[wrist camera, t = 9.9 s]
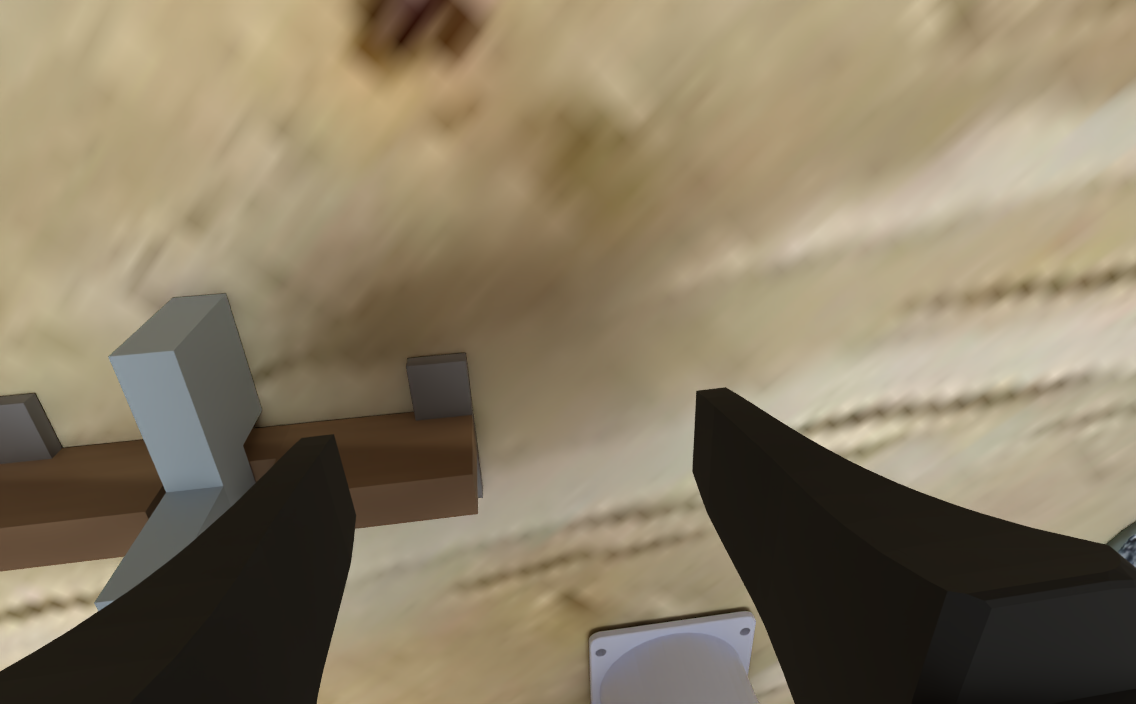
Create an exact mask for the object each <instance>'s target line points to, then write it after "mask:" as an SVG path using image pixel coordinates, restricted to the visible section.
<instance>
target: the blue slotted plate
mask: <svg viewBox="0 0 1136 704" xmlns="http://www.w3.org/2000/svg"><path fill="white" fill-rule="evenodd" d="M108 357H109V359H110V362H111V364H112V366H113V369H114V371H115V373H116V376H117V378H118V380H119V383H120V385H121V388H122V390H123V392H124V395H125V397H126V399H127V402H128V404H129V406H130V409H131V411H132V413H133V416H134V418H135V420H136V423H137V425H138V428H139V430H140V432H141V435H142V437H143V439H144V442H145V444H146V446H147V449H148V451H149V453H150V456H151V458H152V460H153V463H154V465H155V468H156V470H157V472H158V475H159V477H160V479H161V482H162V484H163V486H164V489H165V491H166V494H165V495H164V497H163V498H162V500H161V501H160V503H159V504H158V506H157V507H156V509H155V510H154V512H153V513H152V515H151V517H150V518H149V520H148V521H147V523H146V524H145V526H144V527H143V529H142V530H141V532H140V533H139V535H138V536H137V538H136V540H135V541H134V543H133V544H132V546H131V547H130V549H129V550H128V552H127V553H126V555H125V556H124V558H123V560H122V561H121V563H120V564H119V566H118V567H117V569H116V570H115V572H114V573H113V575H112V576H111V578H110V579H109V581H108V583H107V584H106V586H105V587H104V589H103V590H102V592H101V593H100V595H99V596H98V598H97V599H96V601H95V602H94V603H95V605H96V607H97V609H98V611H100V610H101V609H103V608H104V607H106V606H107V605H109V604H110V603H112V602H113V601H115V600H116V599H118V598H119V597H121V596H122V595H124V594H125V593H127V592H128V591H129V590H131V589H132V588H134V587H135V586H136V585H138V584H139V583H140V582H142V581H143V580H144V579H146V578H147V577H148V576H150V575H151V574H152V573H154V572H155V571H156V570H158V569H159V568H160V567H162V566H163V565H164V564H165V563H167V562H168V561H169V560H171V559H172V558H173V557H174V556H176V555H177V554H178V553H179V552H180V551H182V550H183V549H184V548H185V547H186V546H188V545H189V544H190V543H191V542H192V541H194V540H195V539H196V538H197V537H198V536H199V535H200V534H201V533H202V532H204V531H205V530H206V529H207V528H208V527H209V526H210V525H211V524H213V523H214V522H215V521H216V520H217V519H218V518H219V517H220V516H221V515H223V514H224V513H225V512H226V511H227V510H228V509H229V508H230V507H231V506H233V505H234V504H235V503H236V502H237V501H238V500H239V499H240V498H241V497H242V496H243V495H244V494H245V493H246V492H247V491H248V490H249V489H250V488H251V487H252V486H253V485H254V484H255V483H256V482H255V479H254V476H253V473H252V471H251V468H250V465H249V462H248V459H247V456H246V453H245V450H244V447H243V445H244V443H245V441H246V439H247V437H248V435H249V434H250V432H251V430H252V428H253V426H254V424H255V423H256V421H257V419H258V417H259V415H260V413H261V411H262V408H261V405H260V402H259V399H258V395H257V392H256V389H255V386H254V382H253V379H252V376H251V373H250V370H249V366H248V363H247V360H246V357H245V354H244V350H243V347H242V344H241V341H240V337H239V334H238V331H237V328H236V325H235V321H234V318H233V315H232V312H231V308H230V305H229V302H228V299H227V296H226V293H225V294H213V295H200V296H188V297H176V298H172V299H171V300H170V301H169V302H167V303H166V304H165V305H164V306H163V307H162V308H161V309H160V310H159V311H158V312H157V313H155V314H154V315H153V316H152V317H151V318H150V319H149V320H148V321H147V322H146V323H145V324H143V325H142V326H141V327H140V328H139V329H138V330H137V331H136V332H135V333H134V334H132V335H131V336H130V337H129V338H128V339H127V340H126V341H125V342H124V343H123V344H122V345H120V346H119V347H118V348H117V349H116V350H115V351H114V352H113V353H112V354H111V355H110V356H108Z"/></svg>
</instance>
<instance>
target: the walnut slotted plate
mask: <svg viewBox="0 0 1136 704" xmlns="http://www.w3.org/2000/svg"><path fill="white" fill-rule="evenodd" d="M406 369H407V375H408V381H409V386H410V392H411V397H412V403H413V409H414V412H409V413H399V414H389V415H380V416H370V417H360V418H350V419H341V420H331V421H321V422H312V423H302V424H292V425H282V426H273V427H263V428H253V429H252V430H251V432H250V434H249V435H248V437H247V439H246V441H245V443H244V445H243V447H244V450H245V453H246V456H247V459H248V462H249V465H250V468H251V471H252V473H253V476H254V479H255V482H257V481H258V480H259V479H260V478H261V477H262V476H263V475H264V474H265V473H266V472H267V471H268V470H269V469H270V468H271V467H272V466H273V465H274V464H275V463H276V462H277V461H278V460H279V459H280V458H281V457H282V456H283V455H284V454H285V453H286V452H287V451H288V450H289V449H290V448H291V447H292V446H293V445H294V444H295V443H296V442H298V441H299V440H300V439H301V438H305V437H313V436H321V435H330V434H334V436H335V440H336V443H337V447H338V450H339V454H340V458H341V461H342V465H343V469H344V472H345V476H346V480H347V483H348V487H349V491H350V494H351V498H352V501H353V505H354V509H355V512H356V523H355V529H356V528H365V527H373V526H381V525H390V524H398V523H406V522H415V521H423V520H431V519H439V518H448V517H456V516H464V515H473V514H478V498H483V486H482V479H481V471H480V463H479V455H478V447H477V439H476V431H475V423H474V415H473V407H472V399H471V391H470V383H469V375H468V367H467V360H466V353H459V354H448V355H437V356H427V357H416V358H408V359H407V364H406ZM165 494H166V491H165V489H164V486H163V484H162V482H161V479H160V477H159V475H158V472H157V470H156V468H155V465H154V463H153V460H152V458H151V456H150V453H149V451H148V449H147V446H146V444H145V442H144V440H136V441H127V442H117V443H107V444H98V445H88V446H78V447H68V448H62V447H61V445H60V443H59V441H58V439H57V437H56V435H55V433H54V431H53V429H52V427H51V425H50V423H49V421H48V419H47V417H46V415H45V413H44V411H43V409H42V407H41V405H40V403H39V401H38V399H37V397H36V395H35V393H34V394H23V395H12V396H2V397H0V571H8V570H16V569H24V568H33V567H41V566H49V565H58V564H66V563H74V562H82V561H91V560H99V559H107V558H116V557H124V556H125V555H126V553H127V552H128V550H129V549H130V547H131V546H132V544H133V543H134V541H135V540H136V538H137V536H138V535H139V533H140V532H141V530H142V529H143V527H144V526H145V524H146V523H147V521H148V520H149V518H150V517H151V515H152V513H153V512H154V510H155V509H156V507H157V506H158V504H159V503H160V501H161V500H162V498H163V497H164V495H165Z"/></svg>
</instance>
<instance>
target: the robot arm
mask: <svg viewBox="0 0 1136 704" xmlns="http://www.w3.org/2000/svg"><path fill="white" fill-rule="evenodd" d="M693 474H694V477H695V480H696V483H697V486H698V489H699V492H700V495H701V497H702V500H703V503H704V505H705V508H706V511H707V513H708V515H709V517H710V519H711V521H712V523H713V525H714V527H715V529H716V531H717V533H718V535H719V537H720V539H721V541H722V543H723V545H724V547H725V549H726V551H727V552H728V554H729V556H730V558H731V560H732V562H733V564H734V566H735V568H736V570H737V572H738V574H739V575H740V577H741V579H742V581H743V583H744V585H745V587H746V589H747V591H748V593H749V595H750V596H751V598H752V600H753V602H754V604H755V606H756V608H757V610H758V613H759V615H760V617H761V619H762V621H763V623H764V625H765V628H766V630H767V633H768V635H769V638H770V640H771V643H772V645H773V648H774V651H775V653H776V656H777V658H778V661H779V663H780V666H781V668H782V671H783V673H784V676H785V679H786V681H787V684H788V687H789V689H790V692H791V695H792V697H793V700H794V703H795V704H1136V567H1135V566H1134V565H1132V564H1131V563H1130V562H1129V561H1127V560H1126V559H1125V558H1124V557H1123V556H1121V555H1120V554H1119V553H1118V552H1117V551H1115V550H1114V549H1113V548H1112V547H1110V546H1109V545H1105V544H1100V543H1096V542H1092V541H1087V540H1083V539H1078V538H1074V537H1070V536H1065V535H1061V534H1057V533H1052V532H1048V531H1043V530H1039V529H1035V528H1031V527H1027V526H1023V525H1020V524H1016V523H1013V522H1009V521H1006V520H1002V519H999V518H995V517H992V516H988V515H985V514H982V513H979V512H975V511H972V510H969V509H966V508H963V507H960V506H957V505H954V504H951V503H948V502H946V501H943V500H940V499H937V498H935V497H932V496H929V495H926V494H924V493H921V492H918V491H916V490H913V489H911V488H908V487H906V486H903V485H901V484H898V483H896V482H894V481H892V480H889V479H887V478H885V477H883V476H880V475H878V474H876V473H874V472H871V471H869V470H867V469H865V468H863V467H861V466H859V465H857V464H855V463H853V462H851V461H849V460H847V459H845V458H843V457H841V456H839V455H837V454H835V453H834V452H832V451H830V450H828V449H826V448H824V447H822V446H821V445H819V444H817V443H815V442H814V441H812V440H810V439H808V438H807V437H805V436H803V435H802V434H800V433H798V432H797V431H795V430H793V429H792V428H790V427H788V426H787V425H785V424H784V423H782V422H780V421H779V420H777V419H776V418H774V417H772V416H771V415H769V414H768V413H766V412H765V411H763V410H761V409H760V408H758V407H757V406H755V405H754V404H752V403H751V402H749V401H747V400H746V399H744V398H743V397H741V396H739V395H738V394H736V393H734V392H733V391H731V390H729V389H727V388H726V387H725V388H717V389H709V390H700V391H696V411H695V431H694V451H693ZM355 523H356V512H355V509H354V505H353V501H352V498H351V494H350V491H349V487H348V483H347V480H346V476H345V472H344V469H343V465H342V461H341V458H340V454H339V450H338V447H337V443H336V440H335V436H334V434H330V435H321V436H313V437H305V438H301V439H300V440H299V441H298V442H296V443H295V444H294V445H293V446H292V447H291V448H290V449H289V450H288V451H287V452H286V453H285V454H284V455H283V456H282V457H281V458H280V459H279V460H278V461H277V462H276V463H275V464H274V465H273V466H272V467H271V468H270V469H269V470H268V471H267V472H266V473H265V474H264V475H263V476H262V477H261V478H260V479H259V480H258V481H257V482H256V483H255V484H254V485H253V486H252V487H251V488H250V489H249V490H248V491H247V492H246V493H245V494H244V495H243V496H242V497H241V498H240V499H239V500H238V501H237V502H236V503H235V504H234V505H233V506H231V507H230V508H229V509H228V510H227V511H226V512H225V513H224V514H223V515H221V516H220V517H219V518H218V519H217V520H216V521H215V522H214V523H213V524H211V525H210V526H209V527H208V528H207V529H206V530H205V531H204V532H202V533H201V534H200V535H199V536H198V537H197V538H196V539H195V540H194V541H192V542H191V543H190V544H189V545H188V546H186V547H185V548H184V549H183V550H182V551H180V552H179V553H178V554H177V555H176V556H174V557H173V558H172V559H171V560H169V561H168V562H167V563H165V564H164V565H163V566H162V567H160V568H159V569H158V570H156V571H155V572H154V573H152V574H151V575H150V576H148V577H147V578H146V579H144V580H143V581H142V582H140V583H139V584H138V585H136V586H135V587H134V588H132V589H131V590H129V591H128V592H127V593H125V594H124V595H122V596H121V597H119V598H118V599H116V600H115V601H113V602H112V603H110V604H109V605H107V606H106V607H104V608H103V609H101V610H100V611H98V612H97V613H95V614H94V615H92V616H91V617H89V618H88V619H86V620H85V621H83V622H82V623H80V624H79V625H77V626H76V627H74V628H73V629H71V630H70V631H68V632H66V633H65V634H63V635H62V636H60V637H58V638H57V639H55V640H53V641H52V642H50V643H48V644H47V645H45V646H43V647H42V648H40V649H38V650H37V651H35V652H33V653H32V654H30V655H28V656H26V657H25V658H23V659H21V660H19V661H18V662H16V663H14V664H12V665H11V666H9V667H7V668H5V669H4V670H2V671H0V704H317V697H318V692H319V688H320V683H321V678H322V674H323V669H324V665H325V662H326V658H327V654H328V650H329V646H330V642H331V638H332V635H333V631H334V627H335V623H336V619H337V615H338V612H339V608H340V604H341V600H342V596H343V592H344V588H345V584H346V580H347V576H348V572H349V568H350V564H351V558H352V550H353V542H354V533H355ZM755 624H756V620H755V618H754V616H753V614H752V613H751V612H749V611H741V612H734V613H727V614H720V615H713V616H706V617H699V618H692V619H685V620H678V621H671V622H664V623H657V624H650V625H643V626H636V627H629V628H622V629H615V630H608V631H601V632H596V633H594V634H593V635H591V637H590V638H589V662H590V694H591V704H759V702H758V700H757V697H756V695H755V692H754V690H753V688H752V685H751V683H750V681H749V678H748V671H749V664H750V658H751V651H752V644H753V638H754V631H755Z"/></svg>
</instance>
